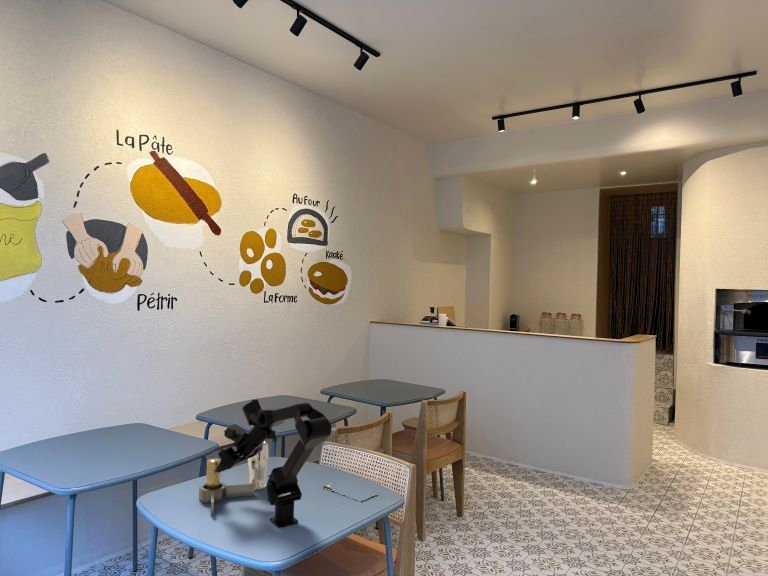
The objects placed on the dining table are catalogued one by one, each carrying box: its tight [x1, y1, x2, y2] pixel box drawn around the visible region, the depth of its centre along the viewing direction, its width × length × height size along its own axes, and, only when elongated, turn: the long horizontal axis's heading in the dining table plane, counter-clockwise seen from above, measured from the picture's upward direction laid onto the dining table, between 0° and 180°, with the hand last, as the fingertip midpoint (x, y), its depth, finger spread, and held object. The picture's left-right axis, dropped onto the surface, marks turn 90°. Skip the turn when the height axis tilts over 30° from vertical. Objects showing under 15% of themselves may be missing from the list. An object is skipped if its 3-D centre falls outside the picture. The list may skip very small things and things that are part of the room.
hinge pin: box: [205, 458, 222, 490], centre depth 179 cm, size 4×4×12 cm
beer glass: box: [247, 441, 269, 491], centre depth 191 cm, size 7×7×15 cm
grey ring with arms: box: [198, 481, 256, 516], centre depth 178 cm, size 17×18×4 cm
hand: (225, 467), depth 178 cm, fingers open, 9 cm apart
